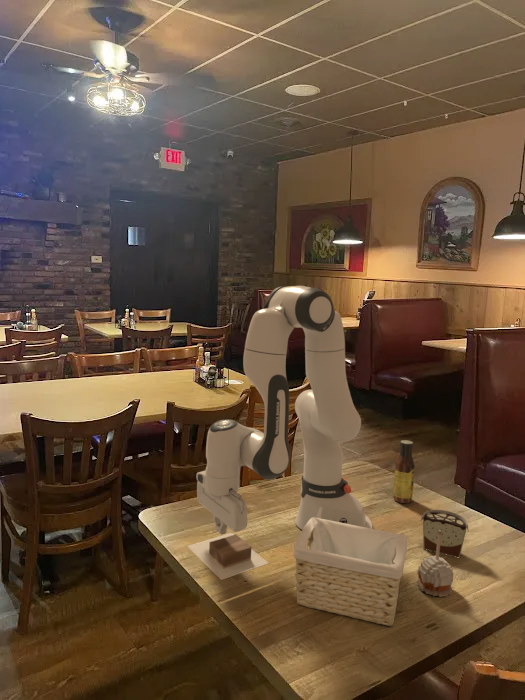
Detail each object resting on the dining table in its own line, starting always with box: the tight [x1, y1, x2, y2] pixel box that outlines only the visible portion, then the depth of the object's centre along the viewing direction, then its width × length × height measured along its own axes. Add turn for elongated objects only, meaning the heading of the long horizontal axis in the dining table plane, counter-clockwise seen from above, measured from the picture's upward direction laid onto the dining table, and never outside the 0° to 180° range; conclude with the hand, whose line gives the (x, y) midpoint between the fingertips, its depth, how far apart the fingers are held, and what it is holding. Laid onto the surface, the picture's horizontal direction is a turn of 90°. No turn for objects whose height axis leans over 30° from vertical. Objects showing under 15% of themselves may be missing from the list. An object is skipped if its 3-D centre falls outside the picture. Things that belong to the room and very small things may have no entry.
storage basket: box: [293, 518, 408, 627], centre depth 126 cm, size 24×16×15 cm
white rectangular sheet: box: [186, 532, 269, 581], centre depth 142 cm, size 18×14×1 cm
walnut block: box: [209, 534, 252, 569], centre depth 141 cm, size 4×8×8 cm
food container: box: [420, 509, 469, 558], centre depth 150 cm, size 12×6×10 cm, turn 65°
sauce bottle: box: [392, 439, 416, 504], centre depth 178 cm, size 6×6×20 cm
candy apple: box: [416, 530, 454, 598], centre depth 131 cm, size 8×8×15 cm
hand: (220, 531), depth 144 cm, fingers closed
